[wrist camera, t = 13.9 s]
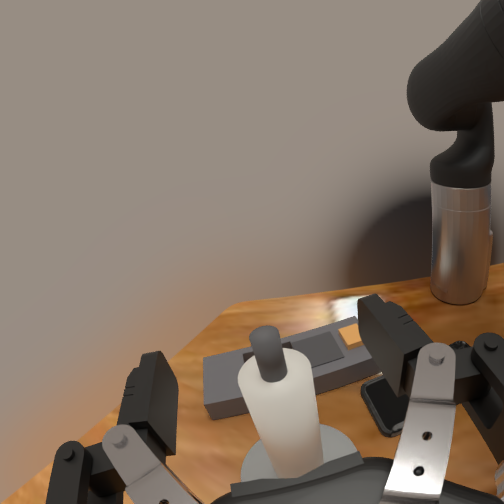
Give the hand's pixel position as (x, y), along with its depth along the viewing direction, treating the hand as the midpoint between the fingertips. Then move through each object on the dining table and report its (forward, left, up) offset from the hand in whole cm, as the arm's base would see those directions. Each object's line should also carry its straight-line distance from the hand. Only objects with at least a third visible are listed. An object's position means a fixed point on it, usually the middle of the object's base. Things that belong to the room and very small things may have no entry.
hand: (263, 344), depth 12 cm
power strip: (-2, -17, -20) cm, 26 cm away
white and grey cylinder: (0, -4, -19) cm, 20 cm away
